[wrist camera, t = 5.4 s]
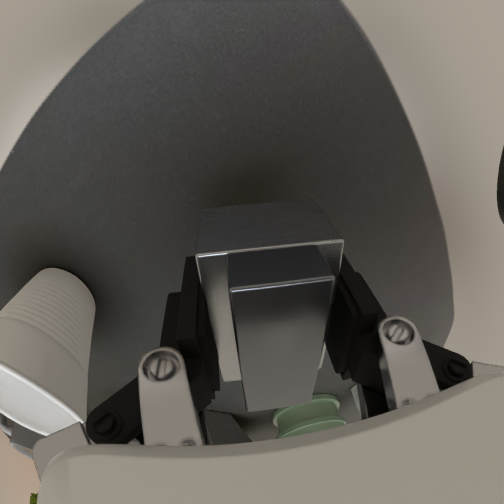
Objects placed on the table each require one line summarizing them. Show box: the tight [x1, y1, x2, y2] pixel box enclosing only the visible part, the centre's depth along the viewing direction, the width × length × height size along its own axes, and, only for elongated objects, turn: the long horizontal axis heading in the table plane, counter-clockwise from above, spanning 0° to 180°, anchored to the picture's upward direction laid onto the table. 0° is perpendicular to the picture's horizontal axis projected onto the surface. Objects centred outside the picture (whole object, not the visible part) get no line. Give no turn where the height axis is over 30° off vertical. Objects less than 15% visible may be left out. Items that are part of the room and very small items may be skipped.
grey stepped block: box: [195, 199, 344, 412], centre depth 10 cm, size 4×6×4 cm, turn 3°
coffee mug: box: [0, 412, 45, 460], centre depth 25 cm, size 13×10×10 cm
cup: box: [0, 268, 96, 436], centre depth 15 cm, size 10×10×11 cm
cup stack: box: [272, 394, 347, 439], centre depth 30 cm, size 10×10×12 cm
